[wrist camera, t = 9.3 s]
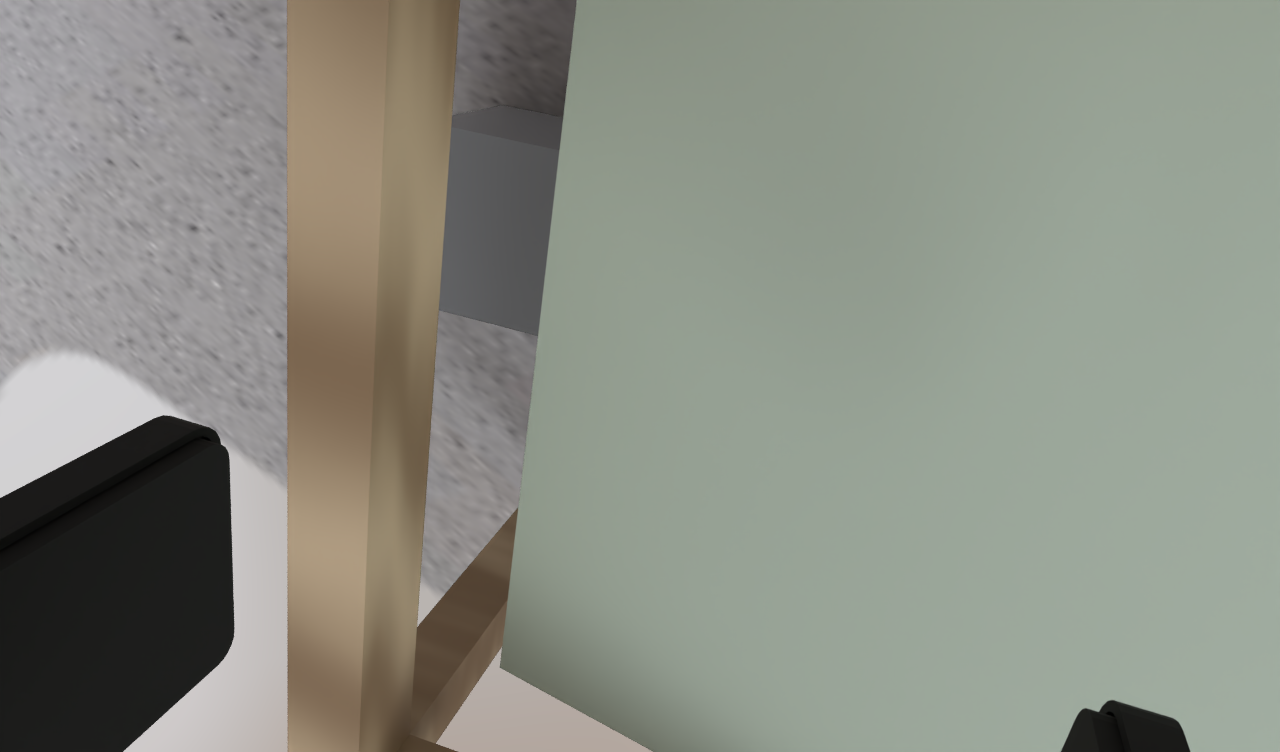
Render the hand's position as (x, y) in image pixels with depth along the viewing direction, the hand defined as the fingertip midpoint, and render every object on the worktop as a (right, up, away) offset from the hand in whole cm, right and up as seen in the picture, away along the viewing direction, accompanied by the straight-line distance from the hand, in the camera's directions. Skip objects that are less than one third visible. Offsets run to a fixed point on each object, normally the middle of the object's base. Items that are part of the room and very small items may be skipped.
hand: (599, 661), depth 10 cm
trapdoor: (+6, +1, +5) cm, 8 cm away
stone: (+1, +7, +16) cm, 17 cm away
